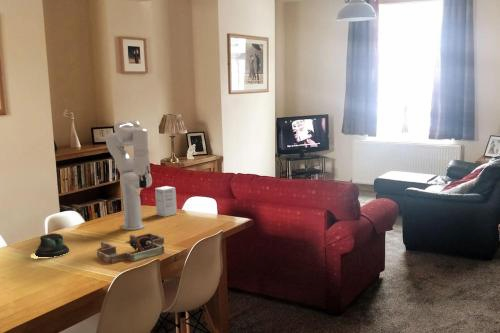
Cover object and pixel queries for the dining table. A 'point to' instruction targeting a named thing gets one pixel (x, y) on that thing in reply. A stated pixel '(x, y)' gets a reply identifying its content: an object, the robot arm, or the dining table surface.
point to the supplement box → (166, 201)
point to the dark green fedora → (51, 246)
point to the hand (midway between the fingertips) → (143, 187)
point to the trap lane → (110, 256)
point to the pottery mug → (142, 244)
